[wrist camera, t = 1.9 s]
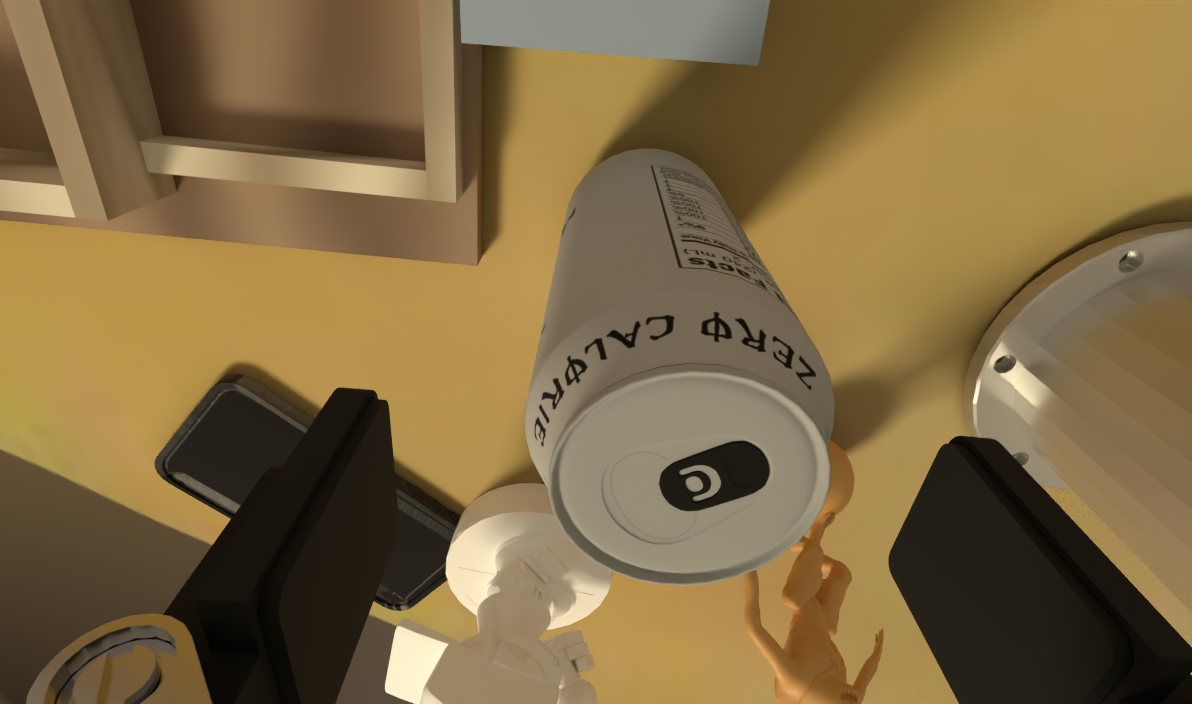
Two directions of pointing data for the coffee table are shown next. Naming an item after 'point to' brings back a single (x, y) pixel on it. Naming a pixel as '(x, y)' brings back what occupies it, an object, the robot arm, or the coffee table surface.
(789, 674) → the figurine
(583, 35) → the wing block
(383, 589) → the phone
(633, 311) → the energy drink can
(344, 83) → the jig
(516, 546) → the character figurine
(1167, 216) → the coffee table surface
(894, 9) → the coffee table surface
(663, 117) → the coffee table surface
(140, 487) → the coffee table surface
